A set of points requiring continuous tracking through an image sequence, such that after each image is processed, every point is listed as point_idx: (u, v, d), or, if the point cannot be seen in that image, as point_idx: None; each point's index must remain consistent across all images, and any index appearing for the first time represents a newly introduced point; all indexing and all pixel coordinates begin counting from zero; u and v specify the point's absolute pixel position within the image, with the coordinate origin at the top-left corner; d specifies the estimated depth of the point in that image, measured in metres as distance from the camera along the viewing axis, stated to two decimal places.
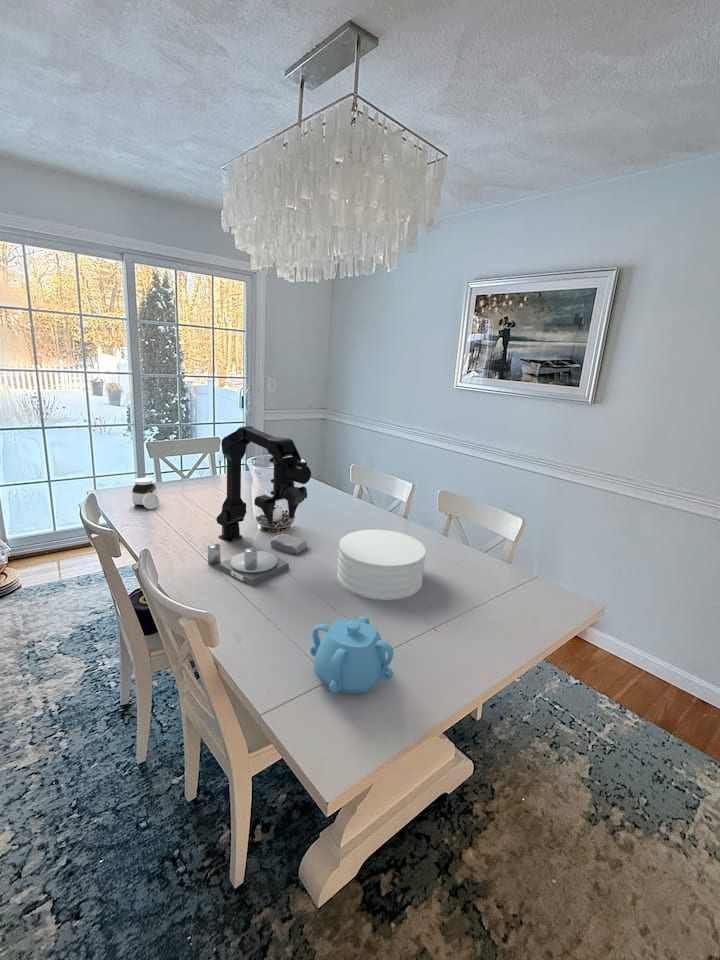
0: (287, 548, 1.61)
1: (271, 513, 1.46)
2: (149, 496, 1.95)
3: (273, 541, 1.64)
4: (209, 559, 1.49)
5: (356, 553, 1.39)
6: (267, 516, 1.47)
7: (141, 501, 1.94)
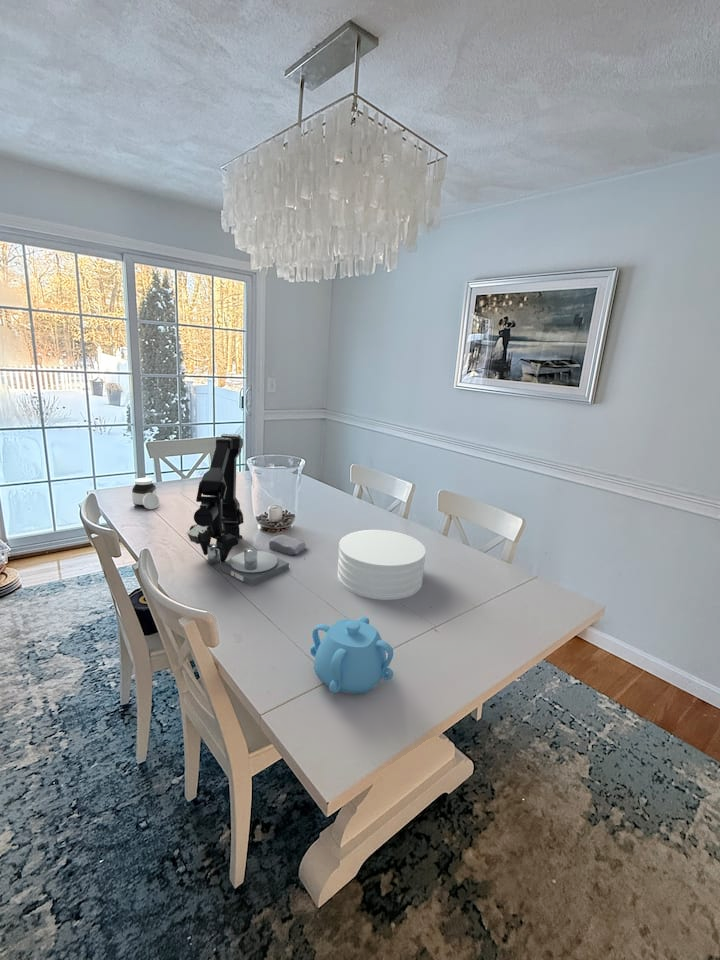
0: (286, 549, 1.61)
1: (200, 542, 1.51)
2: (149, 496, 1.95)
3: (271, 542, 1.63)
4: (209, 559, 1.49)
5: (356, 553, 1.39)
6: None
7: (141, 501, 1.94)
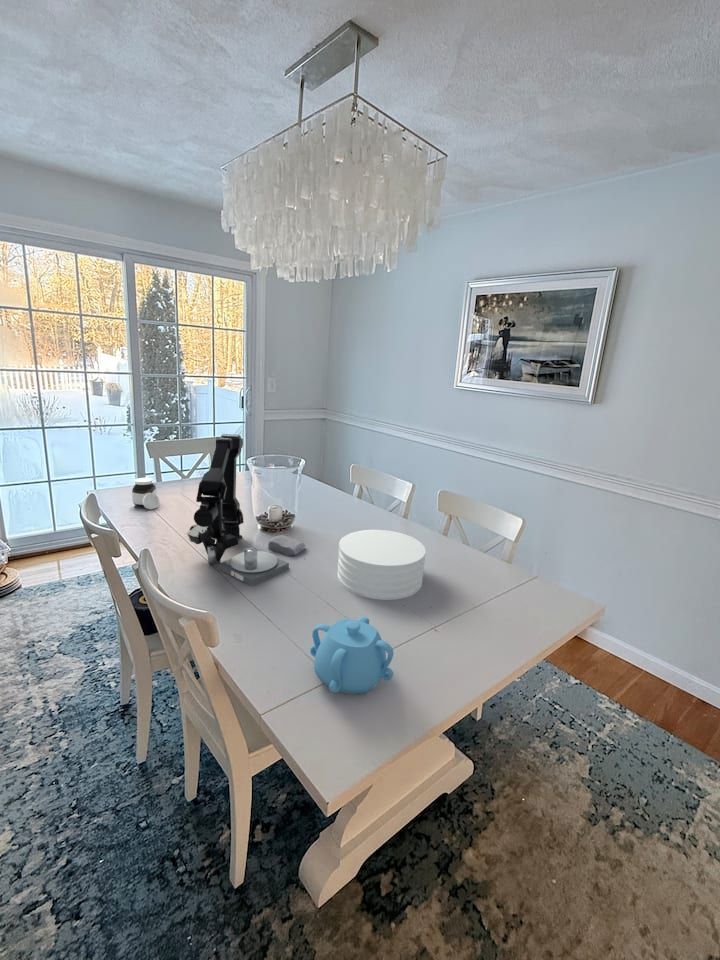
0: (285, 549, 1.60)
1: (204, 544, 1.50)
2: (149, 496, 1.95)
3: (270, 542, 1.63)
4: (209, 559, 1.49)
5: (356, 553, 1.39)
6: None
7: (141, 501, 1.94)
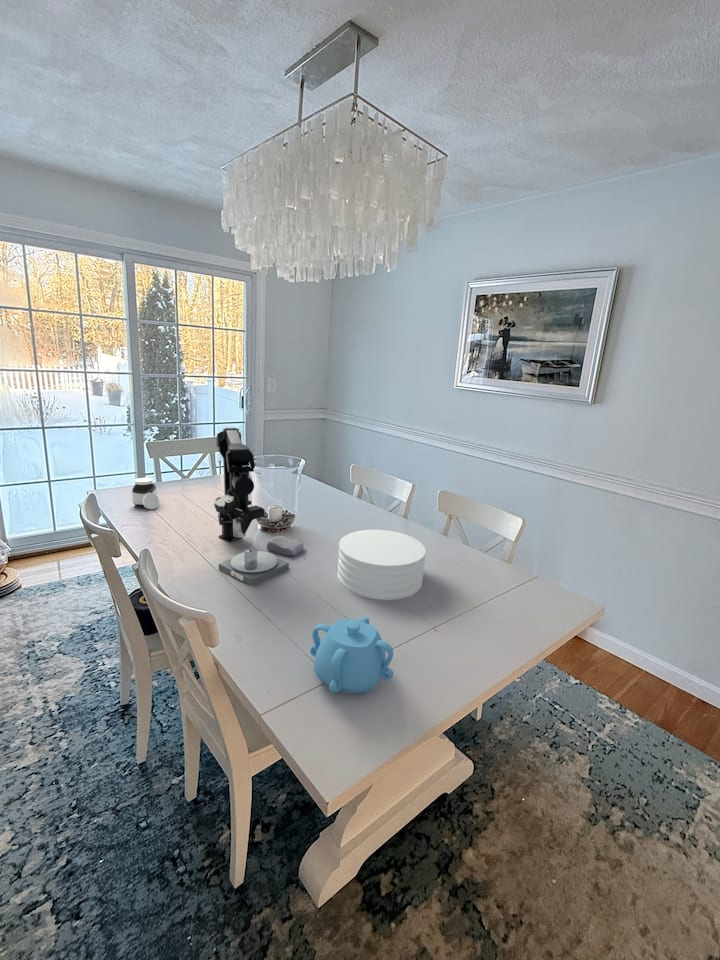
0: (284, 550, 1.59)
1: (230, 517, 1.48)
2: (149, 496, 1.95)
3: (269, 543, 1.62)
4: (234, 531, 1.46)
5: (356, 553, 1.39)
6: None
7: (141, 501, 1.94)
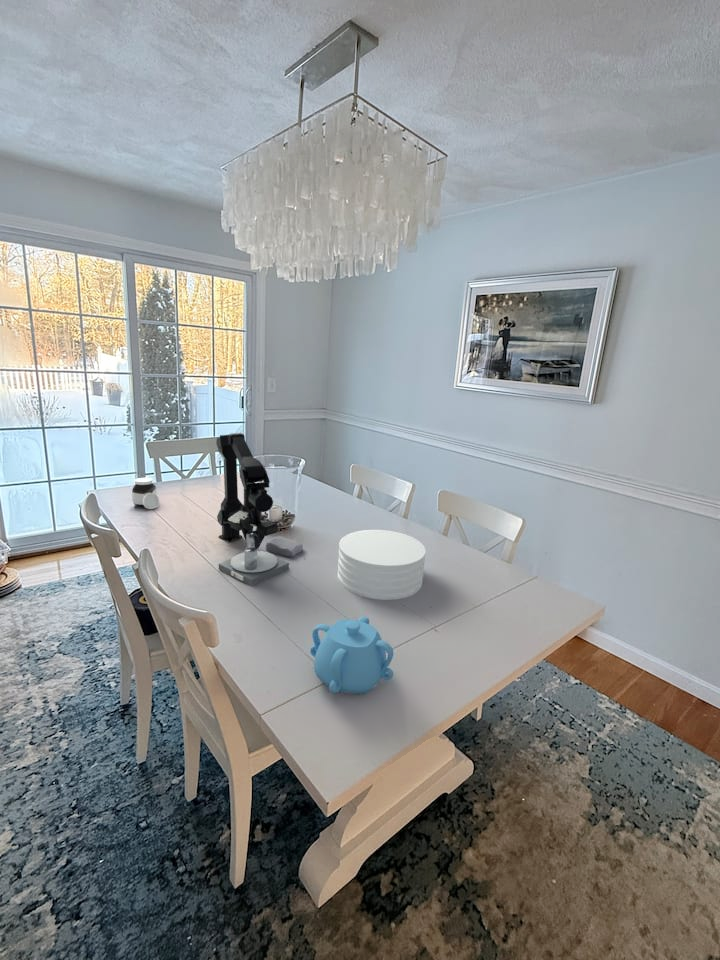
0: (283, 551, 1.59)
1: (243, 532, 1.49)
2: (149, 496, 1.95)
3: (268, 544, 1.61)
4: (248, 546, 1.48)
5: (356, 553, 1.39)
6: None
7: (141, 501, 1.94)
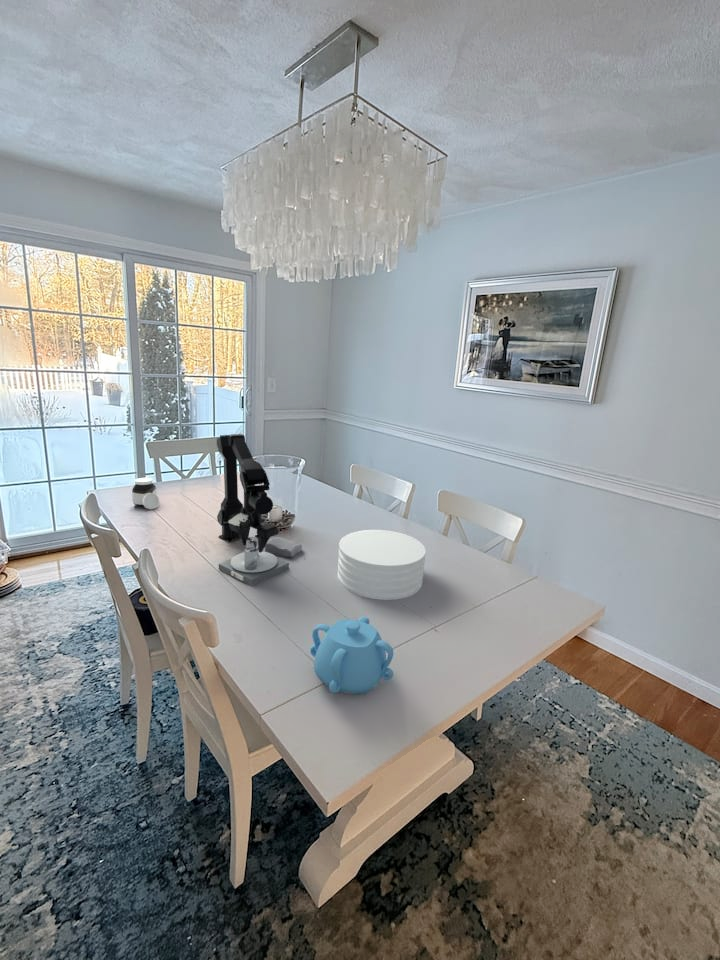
0: (282, 551, 1.58)
1: (239, 533, 1.51)
2: (149, 496, 1.95)
3: (267, 544, 1.61)
4: None
5: (356, 553, 1.39)
6: None
7: (141, 501, 1.94)
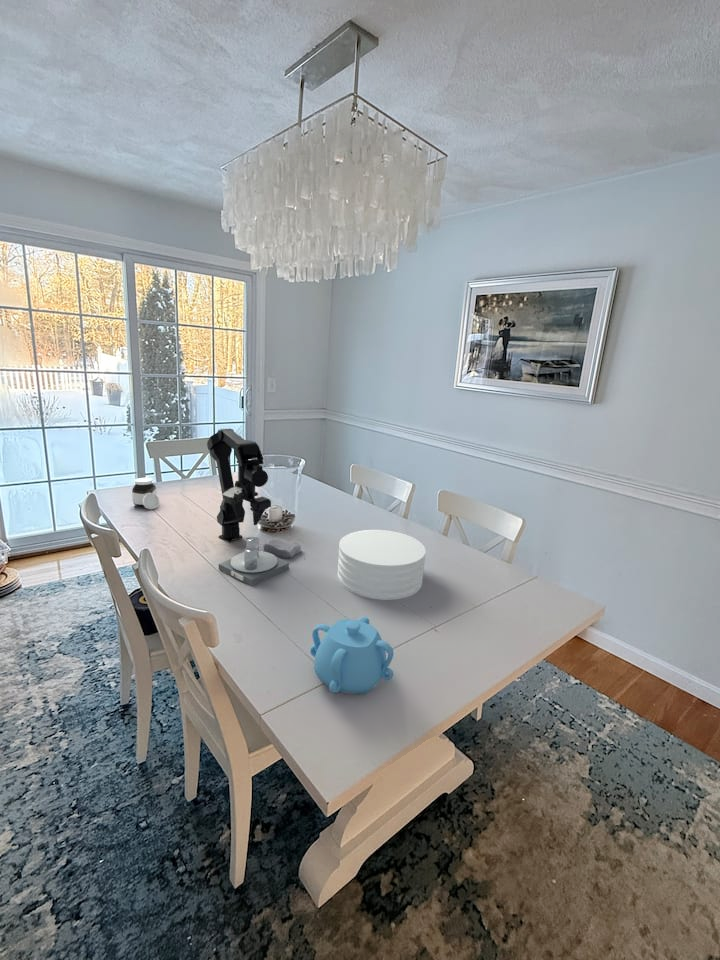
0: (281, 552, 1.58)
1: (233, 505, 1.58)
2: (149, 496, 1.95)
3: (266, 545, 1.60)
4: None
5: (356, 553, 1.39)
6: None
7: (141, 501, 1.94)
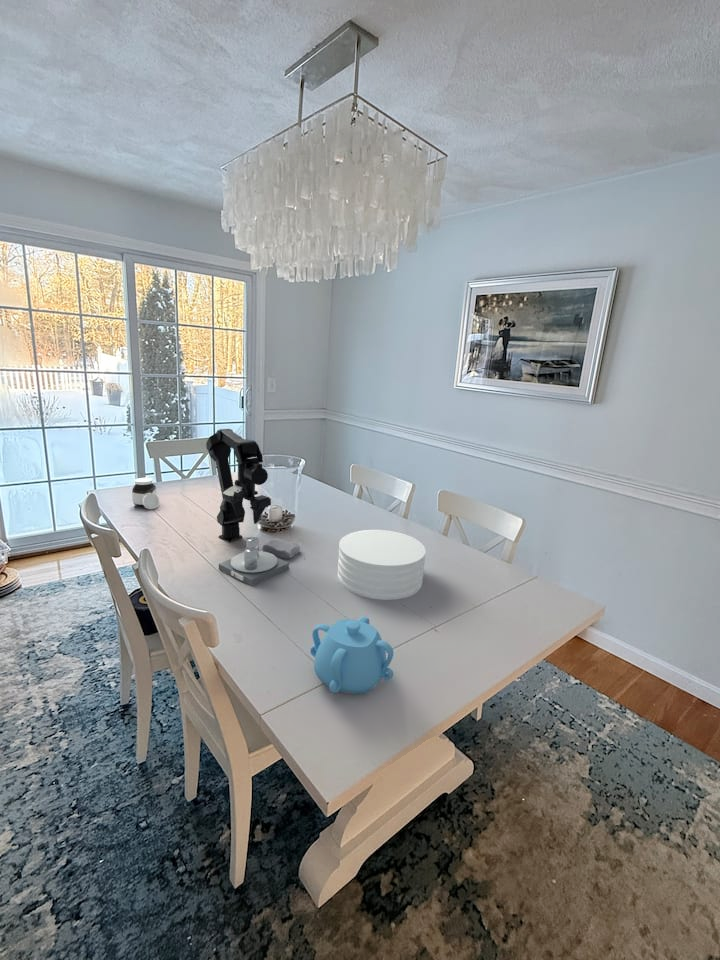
0: (280, 553, 1.57)
1: (233, 504, 1.58)
2: (149, 496, 1.95)
3: (265, 546, 1.60)
4: None
5: (356, 553, 1.39)
6: None
7: (141, 501, 1.94)
